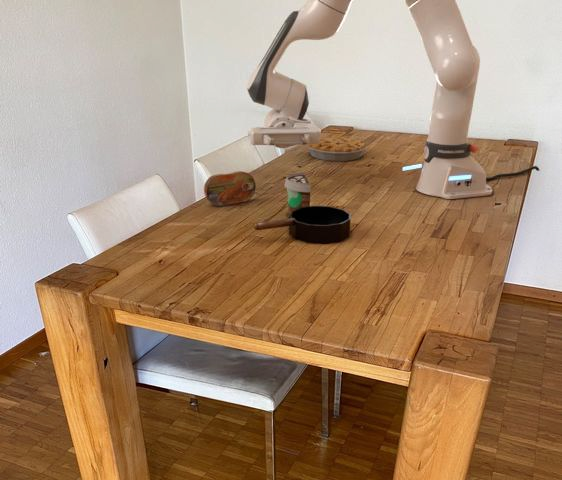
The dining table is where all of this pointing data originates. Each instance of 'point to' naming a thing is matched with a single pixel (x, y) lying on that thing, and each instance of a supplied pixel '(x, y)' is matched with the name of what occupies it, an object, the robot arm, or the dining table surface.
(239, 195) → the tin
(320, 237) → the pan
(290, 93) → the robot arm
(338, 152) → the pie
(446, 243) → the dining table surface
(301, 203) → the food container
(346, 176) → the dining table surface
